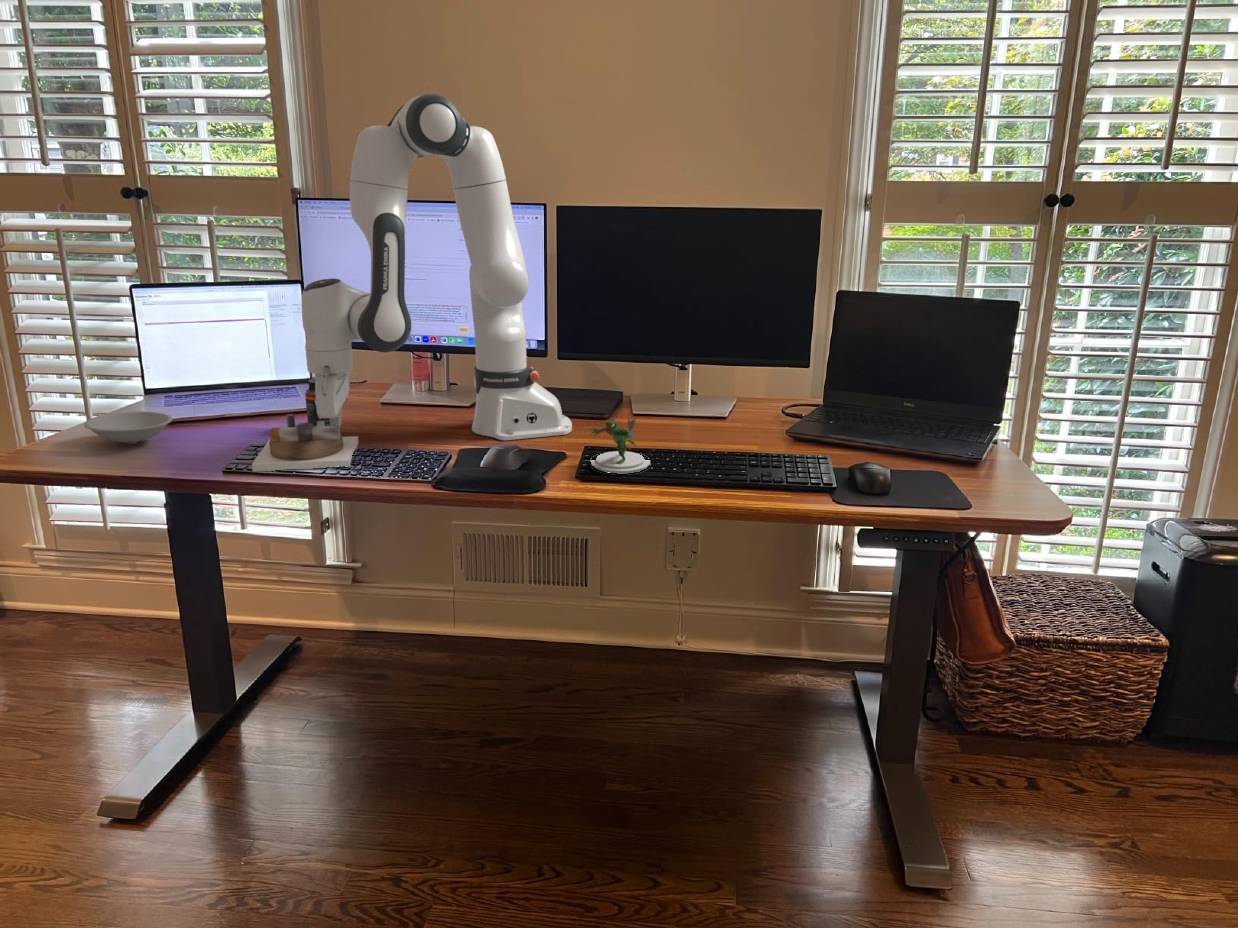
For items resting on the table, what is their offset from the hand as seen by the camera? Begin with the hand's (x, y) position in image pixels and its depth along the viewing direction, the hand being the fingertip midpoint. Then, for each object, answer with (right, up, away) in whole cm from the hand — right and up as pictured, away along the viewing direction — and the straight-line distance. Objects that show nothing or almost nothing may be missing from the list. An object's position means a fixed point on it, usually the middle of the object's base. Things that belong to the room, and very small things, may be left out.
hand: (336, 427), depth 182 cm
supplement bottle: (-8, 0, +15) cm, 17 cm away
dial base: (-5, -6, -3) cm, 8 cm away
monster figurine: (+59, -8, -6) cm, 59 cm away
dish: (-45, -3, +5) cm, 45 cm away
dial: (-5, -4, -4) cm, 7 cm away
